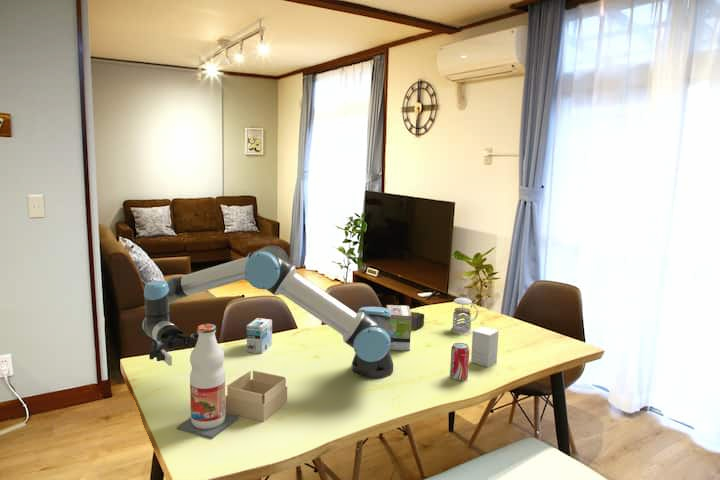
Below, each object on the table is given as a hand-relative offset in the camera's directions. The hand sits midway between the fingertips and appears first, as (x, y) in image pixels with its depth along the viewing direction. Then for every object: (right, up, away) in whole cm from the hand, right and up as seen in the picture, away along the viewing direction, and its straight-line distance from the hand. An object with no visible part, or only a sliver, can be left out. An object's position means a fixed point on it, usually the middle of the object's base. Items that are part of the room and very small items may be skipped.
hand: (193, 355), depth 147 cm
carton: (+17, -17, +6) cm, 25 cm away
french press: (+95, -7, +80) cm, 125 cm away
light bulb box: (+9, -9, +53) cm, 54 cm away
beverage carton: (+68, -6, +87) cm, 111 cm away
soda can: (+84, -15, +30) cm, 90 cm away
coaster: (+6, -18, -5) cm, 20 cm away
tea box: (+64, -9, +62) cm, 90 cm away
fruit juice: (+6, -18, -5) cm, 19 cm away
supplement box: (+96, -13, +45) cm, 107 cm away
